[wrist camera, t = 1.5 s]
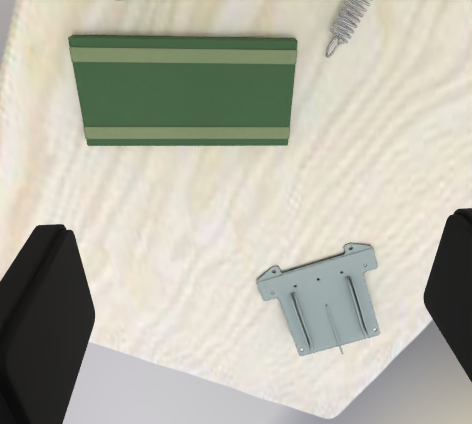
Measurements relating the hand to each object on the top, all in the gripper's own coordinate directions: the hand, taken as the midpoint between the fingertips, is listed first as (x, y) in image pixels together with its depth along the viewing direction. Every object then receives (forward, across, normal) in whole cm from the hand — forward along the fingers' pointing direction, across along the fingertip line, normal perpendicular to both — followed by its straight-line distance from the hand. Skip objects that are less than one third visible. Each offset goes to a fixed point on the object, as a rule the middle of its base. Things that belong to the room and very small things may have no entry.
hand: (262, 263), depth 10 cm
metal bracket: (+32, -12, +32) cm, 47 cm away
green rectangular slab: (+32, +4, +4) cm, 32 cm away
